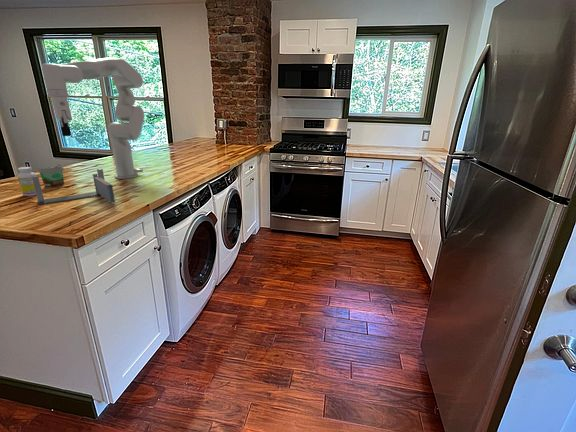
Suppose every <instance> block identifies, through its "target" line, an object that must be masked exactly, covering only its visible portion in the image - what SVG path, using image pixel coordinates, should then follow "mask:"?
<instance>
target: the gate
mask: <svg viewBox="0 0 576 432" xmlns="http://www.w3.org/2000/svg"><path fill="white" fill-rule="evenodd" d="M92 177H93V182H94V189H95V192H96V193H98V194H100V195H101V196H100V197H102V198H104V199H105V200H107V201H108V202H109V203H110V204H113V203H116V200H115V199H116V198H115V193H114V188H113V184H111V183H110V182H108V181H106V180H103V179H102V178H100V177H98V173H93V174H92Z"/></svg>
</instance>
